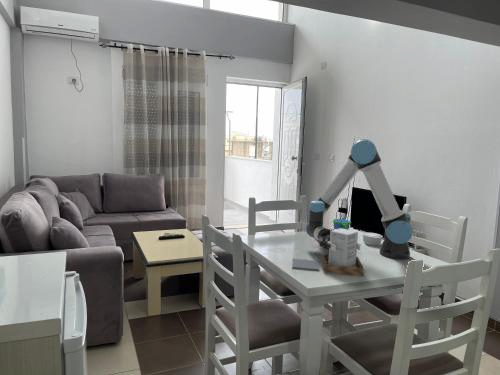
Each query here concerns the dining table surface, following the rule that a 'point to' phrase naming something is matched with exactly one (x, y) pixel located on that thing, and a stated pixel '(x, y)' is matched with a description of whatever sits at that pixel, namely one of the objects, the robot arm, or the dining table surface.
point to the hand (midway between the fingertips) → (347, 247)
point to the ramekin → (372, 238)
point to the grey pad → (305, 264)
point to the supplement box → (343, 247)
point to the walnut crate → (342, 267)
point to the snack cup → (341, 224)
